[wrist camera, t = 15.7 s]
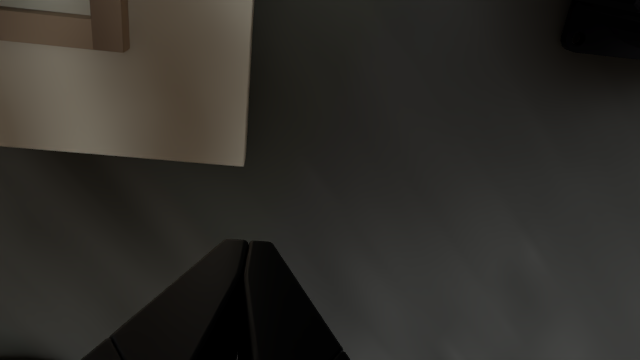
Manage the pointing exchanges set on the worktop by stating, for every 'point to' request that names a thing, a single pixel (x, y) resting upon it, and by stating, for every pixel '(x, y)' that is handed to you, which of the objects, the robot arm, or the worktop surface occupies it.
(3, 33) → the seating plate
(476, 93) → the worktop surface
